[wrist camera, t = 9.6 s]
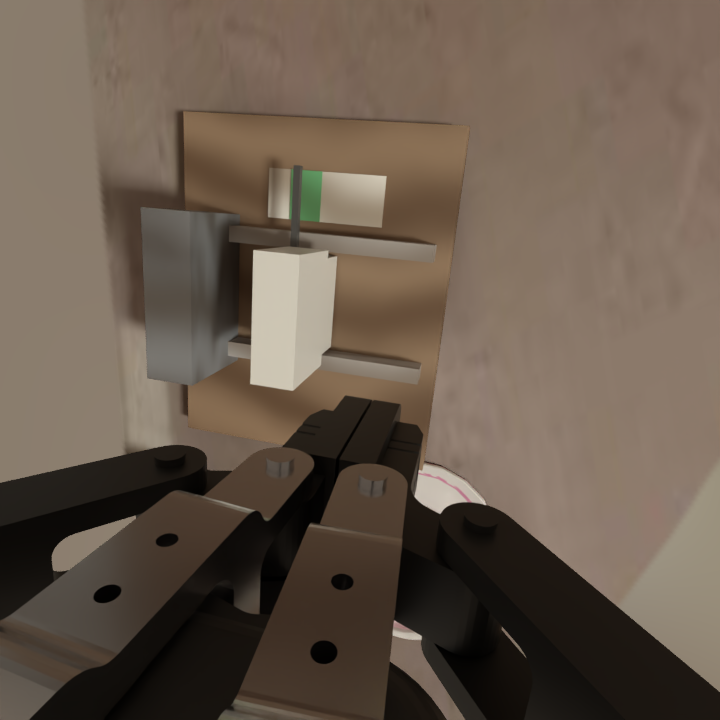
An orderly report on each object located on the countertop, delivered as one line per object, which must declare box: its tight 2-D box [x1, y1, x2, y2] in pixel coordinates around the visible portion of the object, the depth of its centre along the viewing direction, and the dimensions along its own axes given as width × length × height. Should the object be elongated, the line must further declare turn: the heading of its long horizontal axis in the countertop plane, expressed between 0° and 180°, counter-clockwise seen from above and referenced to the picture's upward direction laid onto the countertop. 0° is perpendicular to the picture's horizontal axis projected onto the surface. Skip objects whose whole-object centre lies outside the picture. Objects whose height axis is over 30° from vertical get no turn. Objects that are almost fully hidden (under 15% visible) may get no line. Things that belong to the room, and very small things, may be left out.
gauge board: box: [141, 111, 470, 471], centre depth 30 cm, size 22×18×8 cm
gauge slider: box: [250, 165, 337, 391], centre depth 28 cm, size 12×4×8 cm, turn 175°
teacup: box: [393, 462, 487, 640], centre depth 34 cm, size 12×12×6 cm
